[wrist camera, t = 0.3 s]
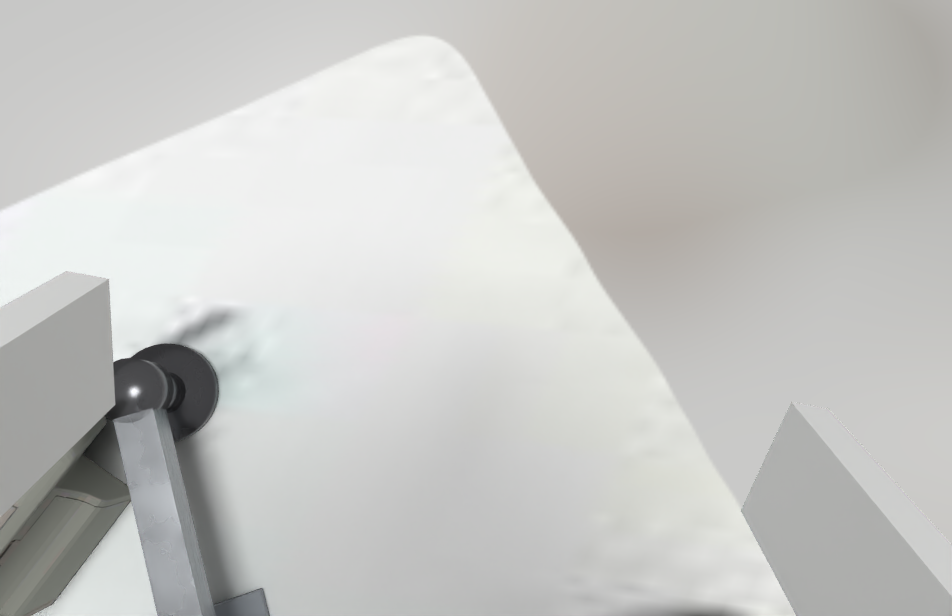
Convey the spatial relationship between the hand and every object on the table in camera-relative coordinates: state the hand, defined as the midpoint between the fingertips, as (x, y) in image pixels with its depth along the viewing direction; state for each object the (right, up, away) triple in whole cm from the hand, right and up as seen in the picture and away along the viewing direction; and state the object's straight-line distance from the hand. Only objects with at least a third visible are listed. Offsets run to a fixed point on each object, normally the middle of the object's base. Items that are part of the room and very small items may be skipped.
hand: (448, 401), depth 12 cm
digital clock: (-29, -12, +31) cm, 44 cm away
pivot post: (-22, -4, +33) cm, 39 cm away
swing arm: (-19, -12, +27) cm, 35 cm away
